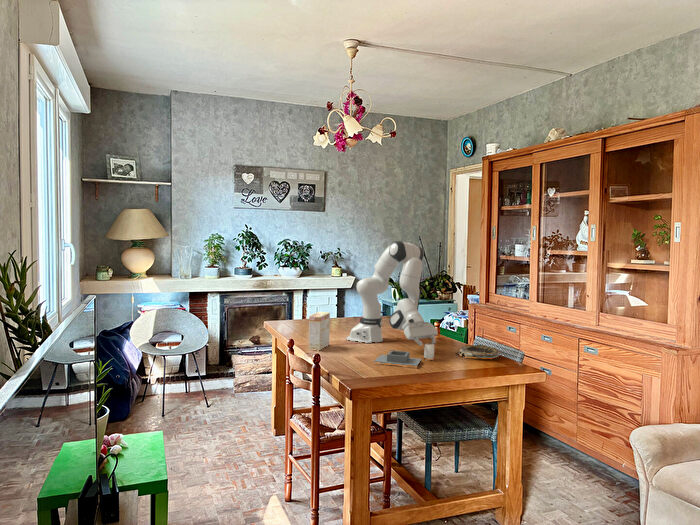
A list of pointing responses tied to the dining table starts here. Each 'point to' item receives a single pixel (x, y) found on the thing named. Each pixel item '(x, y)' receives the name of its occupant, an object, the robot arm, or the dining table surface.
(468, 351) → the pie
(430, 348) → the paper roll
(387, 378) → the dining table surface
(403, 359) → the roll caddy
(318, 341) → the coffeecake box
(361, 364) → the dining table surface
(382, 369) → the dining table surface
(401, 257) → the robot arm
